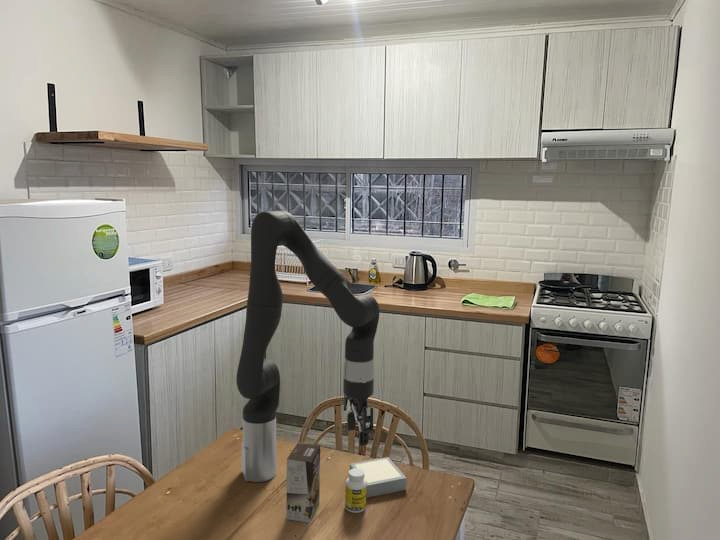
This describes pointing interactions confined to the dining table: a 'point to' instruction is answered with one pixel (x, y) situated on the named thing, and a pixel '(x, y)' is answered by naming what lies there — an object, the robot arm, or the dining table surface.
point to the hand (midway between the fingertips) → (357, 437)
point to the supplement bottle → (355, 491)
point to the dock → (381, 476)
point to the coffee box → (303, 482)
